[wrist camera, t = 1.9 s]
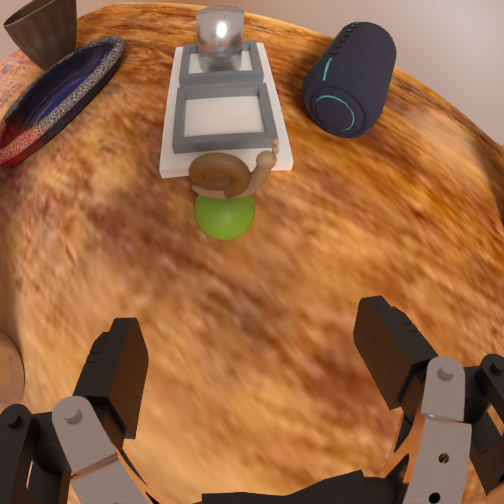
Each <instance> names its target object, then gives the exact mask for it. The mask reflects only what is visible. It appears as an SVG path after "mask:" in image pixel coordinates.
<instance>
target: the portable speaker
mask: <svg viewBox="0 0 504 504" xmlns="http://www.w3.org/2000/svg"><path fill="white" fill-rule="evenodd" d="M395 60H396V47H395V44H394V42H393V39H392V37H391V36H390V34H389V33H388V32H387V31H386V30H385V29H383V28H382V27H380V26H378V25H376V24H373V23H370V22H354V23H351V24H349V25H347V26H345V27H344V28H343V29H342V30H341V31H340V32H339V34H338V35H337V36H336V38H335V39H334V40H333V41H332V42H331V44H330V45H329V46H328V47H327V49H326V50H325V51H324V53H323V54H322V55H321V56H320V58H319V59H318V60H317V62H316V63H315V64H314V65H313V67H312V68H311V69H310V71H309V72H308V74H307V75H306V77H305V78H304V81H303V86H302V97H303V100H304V104H305V107H306V109H307V111H308V113H309V114H310V116H311V118H312V119H313V120H314V121H315V122H316V123H317V124H318V125H319V126H320V127H321V128H323V129H324V130H326V131H327V132H329V133H331V134H333V135H336V136H339V137H342V138H357V137H359V136H361V135H363V134H365V133H367V132H368V131H369V130H370V129H371V128H372V127H373V126H374V125H375V123H376V121H377V120H378V118H379V117H380V115H381V113H382V110H383V107H384V103H385V99H386V96H387V92H388V88H389V84H390V80H391V77H392V73H393V68H394V64H395Z"/></svg>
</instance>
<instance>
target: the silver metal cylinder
mask: <svg viewBox="0 0 504 504" xmlns="http://www.w3.org/2000/svg"><path fill="white" fill-rule="evenodd" d="M196 21H197V37H198V51H199V65H200V69H201V71H202V72H217V71H238V70H239V69H240V68H241V65H242V43H243V24H244V11H243V10H241V9H240V8H237V7H232V6H213V7H208V8H204V9H202V10H200V11H198V12H197V14H196Z"/></svg>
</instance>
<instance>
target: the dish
mask: <svg viewBox="0 0 504 504" xmlns="http://www.w3.org/2000/svg"><path fill="white" fill-rule="evenodd" d="M124 48H125V41H124V39H123V38H121V37H119V36H109V37H105V38H101V39H98V40H96V41H93V42H91V43H89V44H86V45H84V46H82V47H81V48H79V49H77V50H75V51H73V52H72V53H70V54H68V55H67V56H65V57H64V58H62V59H61V60H59V61H58V62H57V63H55V64H54V65H53V66H51V67H50V68H49V69H48V70H46V71H45V72H44V73H43V74H42V75H40V76H39V77H38V78H37V79H36V80H35V81H34V82H33V83H32V84H31V85H30V86H29V87H28V88H27V89H26V90H25V91H24V92H23V93H22V94H21V95H20V96H19V98H18V99H17V100H16V101H15V102H14V103H13V105H12V106H11V107H10V109H9V110H8V111H7V113H6V114H5V116H4V117H3V119H2V120H1V122H0V166H1V167H12V166H15V165H17V164H19V163H20V162H21V161H22V160H24V159H25V158H26V157H28V156H29V155H30V154H32V153H33V152H35V151H36V150H37V149H39V148H40V147H41V146H43V145H44V144H45V143H47V142H48V141H49V140H50V139H51V138H53V137H54V136H55V135H56V134H57V133H58V132H59V131H60V130H61V129H62V128H63V127H64V126H65V125H66V124H67V123H68V122H69V121H70V120H71V119H72V118H73V117H74V116H76V115H77V114H78V113H79V111H80V110H81V109H82V108H83V107H84V106H85V105H86V104H87V103H88V102H89V101H90V100H91V99H92V98H93V97H94V96H95V95H96V94H97V93H98V92H99V91H100V89H101V88H102V87H103V86H104V85H105V84H106V83H107V81H108V80H109V79H110V78H111V76H112V75H113V73H114V72H115V71H116V69H117V67H118V65H119V63H120V61H121V59H122V56H123V51H124Z"/></svg>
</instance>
